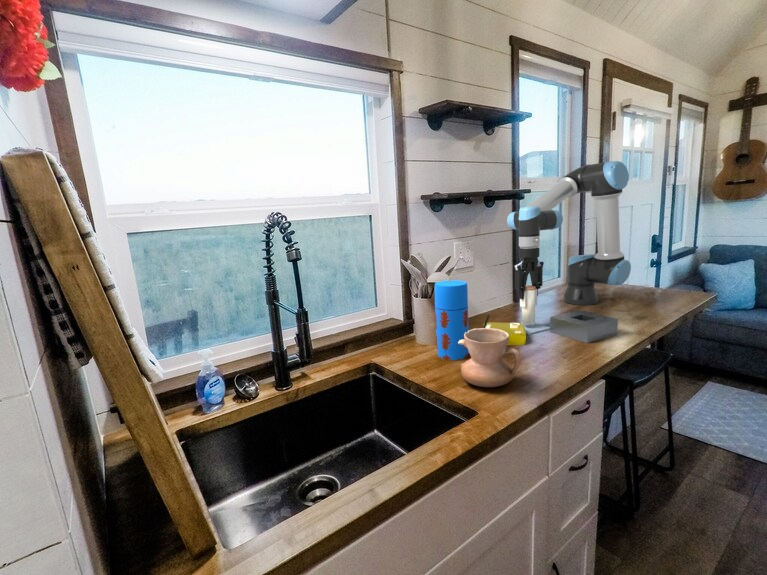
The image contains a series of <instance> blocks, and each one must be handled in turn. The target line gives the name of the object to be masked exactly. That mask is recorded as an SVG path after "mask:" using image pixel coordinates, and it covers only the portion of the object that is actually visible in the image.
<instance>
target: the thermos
mask: <svg viewBox="0 0 767 575" xmlns="http://www.w3.org/2000/svg"><path fill="white" fill-rule="evenodd" d="M450 280H451V279H450ZM468 289H469V288H468V282H467V281H464V280H459V279H457V280H455V279H454V280H453V279H452V280H451V281H448V280H441V282H440V281H437V282H434V310H435V315H434V316H435V334H436V335H435V336H436V337H435V338H436V341H435V342H436V350H437V351H436V352H437V356H438V357H439V358H440V357H441V359H443V358H444V359H443V360H447V359H449V360H448V361H459V360H458V359H460V360H463V358H464V359H466V358H467V357H468V356H469V351H468V348H466V347H465V346H464V345H460V344H458V342H459V340H464V334H465V332H468V331H469V306H468V305H469V295H468V292H469V291H468Z"/></svg>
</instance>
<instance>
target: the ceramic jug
mask: <svg viewBox="0 0 767 575" xmlns="http://www.w3.org/2000/svg"><path fill="white" fill-rule="evenodd" d="M508 340H509V334H508V333H507V332H505V331H502V330H499V329H492V328H483V327H481V328H476V329H475V328H473V329H470V330H469V329H468V332H465V334H464V340H459V342H458V344H460V345H464V346H465V347H466V348H468V354H469V356H470V358H469V359H467V360H466V361H464V362H463V363H461V364H460V367H461V368H460V373H461V376H462V377H463V379H464V380H465V381H466V382H467V383H469V384H470V385H474V386H476V387H480V388H481V387H482V388H497V387H498V388H499V387H502V386H504V385H507V384H508V383H510V382H511V381H512V380H513V379H514V378H515V375H516V372H517V371H518V369H519V368H520V366H521V361H522V356H521V353H520V352H519V350H518V349H516V348H514V347H508V346H509V345H508ZM507 354H513V355H514V357H515V363H514V366H513V367H512V365H511V364H510V363H508V362H507V360H504V359H503V357H504V356H506V355H507Z"/></svg>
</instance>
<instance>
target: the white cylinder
mask: <svg viewBox="0 0 767 575" xmlns="http://www.w3.org/2000/svg"><path fill="white" fill-rule="evenodd" d="M525 291H527V307H526V308H525V307H521V322H522V324H524V325H534V324H535V323H536V305H535V294H536V287H535V286H532V284H531V285H527V284H526V287H525Z"/></svg>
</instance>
